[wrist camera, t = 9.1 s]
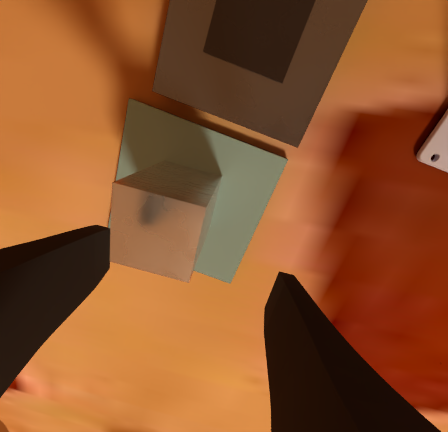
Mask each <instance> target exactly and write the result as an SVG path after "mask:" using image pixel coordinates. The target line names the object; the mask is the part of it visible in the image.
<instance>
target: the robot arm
mask: <svg viewBox="0 0 448 432" xmlns="http://www.w3.org/2000/svg"><path fill="white" fill-rule="evenodd" d="M434 154H435V158H434V159H433V160H431V157H432V156H433V155H434ZM417 160H418V161H420V162H422V163H425V164H428V165H430V166H433V167H435V168H438V169H440V170H443V171H445V172H448V109H447V111H446V112H445V114H444V115H443V117H442V118H441V120H440V121H439V122H438V124H437V125H436V127H435V128H434V130H433V131H432V133H431V134H430V135H429V137H428V138H427V140H426V141H425V143H424V144H423V146H422V147H421V148H420V150H419V151H418V153H417ZM109 268H110V228H107V227H103V226H99V225H93V226H88V227H84V228H80V229H76V230H72V231H68V232H65V233H61V234H57V235H54V236H50V237H46V238H43V239H39V240H35V241H31V242H27V243H23V244H19V245H15V246H11V247H7V248H3V249H0V398H1V396H2V395H3V394H4V392H5V391H6V390H7V388H8V387H9V386H10V384H11V383H12V382H13V381H14V379H15V378H16V377H17V375H18V374H19V373H20V372H21V370H22V369H23V368H24V367H25V365H26V364H27V363H28V362H29V360H30V359H31V358H32V357H33V355H34V354H35V353H36V352H37V350H38V349H39V348H40V347H41V346H42V345H43V343H44V342H45V341H46V340H47V339H48V338H49V337H50V336H51V334H52V333H53V332H54V331H55V330H56V329H57V328H58V327H59V326H60V325H61V324H62V323H63V322H64V321H65V320H66V319H67V318H68V317H69V316H70V314H71V313H72V312H73V311H74V310H75V309H76V308H77V307H78V306H79V305H80V304H81V303H82V302H83V301H84V300H85V299H86V297H87V296H88V295H89V294H90V293H91V292H92V291H93V290H94V289H95V288H96V286H97V285H98V284H99V282H100V281H101V280H102V278H103V277H104V275H105V274H106V272H107V271H108V270H109ZM264 338H265V349H266V359H267V369H268V379H269V389H270V402H271V432H441V431H440V430H439V429H437V428H436V427H435V426H434V425H433V424H432V423H431V422H429V421H428V420H427V419H426V418H425V417H424V416H423V415H421V414H420V413H419V412H418V411H417V410H416V409H415V408H414V407H413V406H412V405H410V404H409V403H408V402H407V401H406V400H405V399H404V398H403V397H402V396H401V395H400V394H398V393H397V392H396V391H395V390H394V389H393V388H392V387H391V386H390V385H389V384H388V383H387V382H386V381H385V380H384V379H383V378H382V377H381V376H380V375H379V374H378V373H377V372H376V371H375V370H374V369H373V368H372V367H371V366H370V365H369V364H368V363H367V362H366V361H365V360H364V359H363V358H362V357H361V356H360V355H359V354H358V353H357V352H356V351H355V350H354V349H353V347H352V346H351V345H350V344H349V343H348V342H347V341H346V340H345V338H344V337H343V336H342V335H341V334H340V333H339V332H338V330H337V329H336V328H335V327H334V326H333V325H332V323H331V322H330V321H329V320H328V318H327V317H326V316H325V315H324V313H323V312H322V311H321V310H320V308H319V307H318V306H317V305H316V303H315V302H314V301H313V299H312V298H311V297H310V295H309V294H308V293H307V291H306V290H305V289H304V288H303V286H302V285H301V284H300V282H299V281H298V280H297V279H296V277H295V276H294V275H291V274H287V273H283V272H279V273H278V276H277V278H276V281H275V283H274V286H273V288H272V291H271V293H270V296H269V298H268V301H267V303H266V306H265V312H264Z"/></svg>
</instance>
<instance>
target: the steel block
mask: <svg viewBox="0 0 448 432" xmlns="http://www.w3.org/2000/svg"><path fill="white" fill-rule="evenodd" d="M221 180H222V176H220V175H216V174H213V173H209V172H205V171H201V170H198V169H194V168H190V167H187V166H183V165H179V164H175V163H172V162H168V161H162V162H159V163H157V164H155V165H152V166H150V167H148V168H145V169H143V170H140V171H138V172H136V173H133V174H131V175H129V176H126V177H124V178H122V179H119V180H117V181H115V182H112V202H111V223H110V262H113V263H117V264H121V265H125V266H128V267H132V268H136V269H139V270H143V271H147V272H151V273H154V274H158V275H162V276H165V277H169V278H173V279H177V280H180V281H184V282H188V283H189V282H190V279H191V276H192V274H193V271H194V268H195V266H196V263H197V260H198V258H199V255H200V253H201V250H202V247H203V245H204V242H205V239H206V237H207V234H208V232H209V229H210V225H211V221H212V217H213V213H214V209H215V205H216V200H217V196H218V192H219V188H220V184H221Z"/></svg>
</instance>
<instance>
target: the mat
mask: <svg viewBox="0 0 448 432" xmlns="http://www.w3.org/2000/svg"><path fill="white" fill-rule="evenodd" d="M162 161H168V162H172V163H175V164H179V165H183V166H187V167H190V168H194V169H198V170H201V171H205V172H209V173H213V174H216V175H220V176H222V180H221V184H220V188H219V192H218V196H217V200H216V205H215V209H214V213H213V217H212V221H211V225H210V229H209V232H208V234H207V237H206V239H205V242H204V245H203V247H202V250H201V253H200V255H199V258H198V260H197V263H196V266H195V268H194V271H197V272H199V273H202V274H205V275H208V276H210V277H213V278H216V279H219V280H222V281H224V282H227V283H231V281H232V279H233V277H234V275H235V272H236V270H237V268H238V266H239V264H240V262H241V260H242V257H243V255H244V253H245V251H246V249H247V247H248V245H249V242H250V240H251V238H252V236H253V234H254V232H255V230H256V227H257V225H258V223H259V221H260V219H261V217H262V215H263V212H264V210H265V208H266V206H267V204H268V202H269V199H270V197H271V195H272V193H273V191H274V189H275V187H276V184H277V182H278V180H279V178H280V176H281V174H282V172H283V169H284V167H285V165H286V163H287V161H288V159H287V158H284V157H281V156H279V155H276V154H274V153H271V152H268V151H266V150H263V149H261V148H258V147H255V146H253V145H250V144H248V143H245V142H243V141H240V140H237V139H235V138H232V137H230V136H227V135H224V134H222V133H219V132H217V131H214V130H211V129H209V128H206V127H204V126H201V125H199V124H196V123H193V122H191V121H188V120H186V119H183V118H180V117H178V116H175V115H173V114H170V113H167V112H165V111H162V110H160V109H157V108H154V107H152V106H149V105H147V104H144V103H142V102H139V101H136V100H134V99H130V98H129V100H128V107H127V113H126V119H125V125H124V132H123V138H122V144H121V150H120V157H119V163H118V169H117V176H116V181H117V180H119V179H122V178H124V177H126V176H129V175H131V174H133V173H136V172H138V171H140V170H143V169H145V168H148V167H150V166H152V165H155V164H157V163H159V162H162ZM110 223H111V213H110V219H109V226H108V228H110Z"/></svg>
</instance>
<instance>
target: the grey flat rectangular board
mask: <svg viewBox="0 0 448 432" xmlns="http://www.w3.org/2000/svg"><path fill="white" fill-rule="evenodd" d="M366 3H367V0H170V3H169V8H168V13H167V18H166V23H165V28H164V33H163V38H162V43H161V49H160V54H159V59H158V64H157V69H156V74H155V79H154V84H153V89H152V91H153V92H156V93H158V94H161V95H163V96H166V97H169V98H171V99H174V100H176V101H179V102H181V103H184V104H187V105H189V106H192V107H194V108H197V109H199V110H202V111H205V112H207V113H210V114H212V115H215V116H217V117H220V118H223V119H225V120H228V121H230V122H233V123H235V124H238V125H241V126H243V127H246V128H248V129H251V130H253V131H256V132H259V133H261V134H264V135H266V136H269V137H271V138H274V139H277V140H279V141H282V142H284V143H287V144H289V145H292V146H295V147H297V148H298V146H299V144H300V142H301V140H302V138H303V136H304V134H305V131H306V129H307V127H308V125H309V123H310V121H311V119H312V117H313V115H314V112H315V110H316V108H317V106H318V104H319V102H320V100H321V98H322V96H323V93H324V91H325V89H326V87H327V85H328V83H329V81H330V79H331V77H332V74H333V72H334V70H335V68H336V66H337V64H338V62H339V60H340V57H341V55H342V53H343V51H344V49H345V47H346V45H347V43H348V41H349V38H350V36H351V34H352V32H353V30H354V28H355V26H356V24H357V22H358V19H359V17H360V15H361V13H362V11H363V9H364V7H365V5H366Z"/></svg>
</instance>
